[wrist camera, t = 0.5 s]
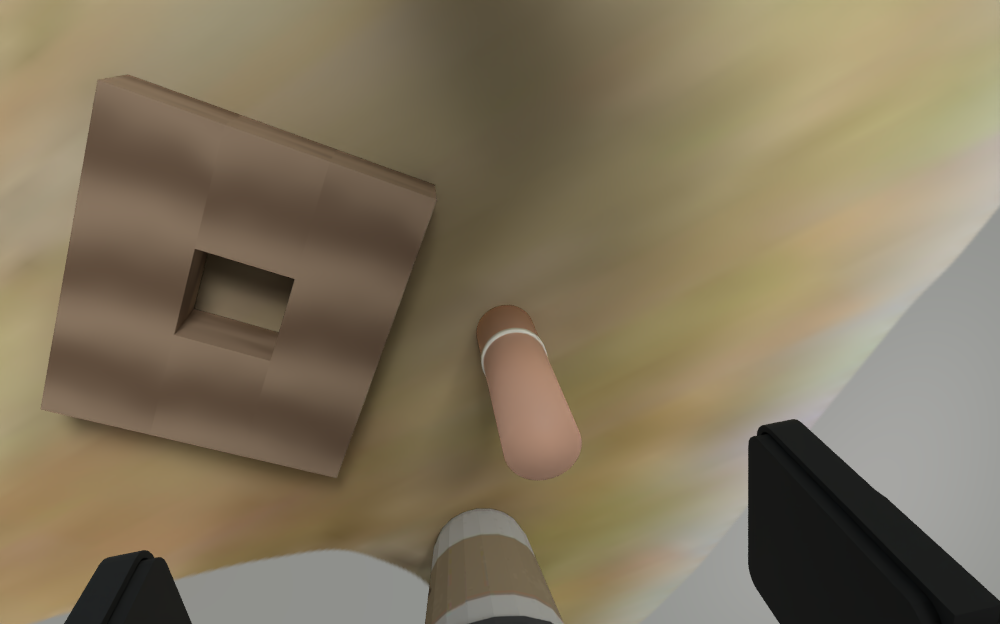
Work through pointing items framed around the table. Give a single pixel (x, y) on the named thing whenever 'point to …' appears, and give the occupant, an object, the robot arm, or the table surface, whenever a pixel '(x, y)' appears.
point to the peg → (526, 396)
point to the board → (240, 237)
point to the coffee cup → (487, 574)
